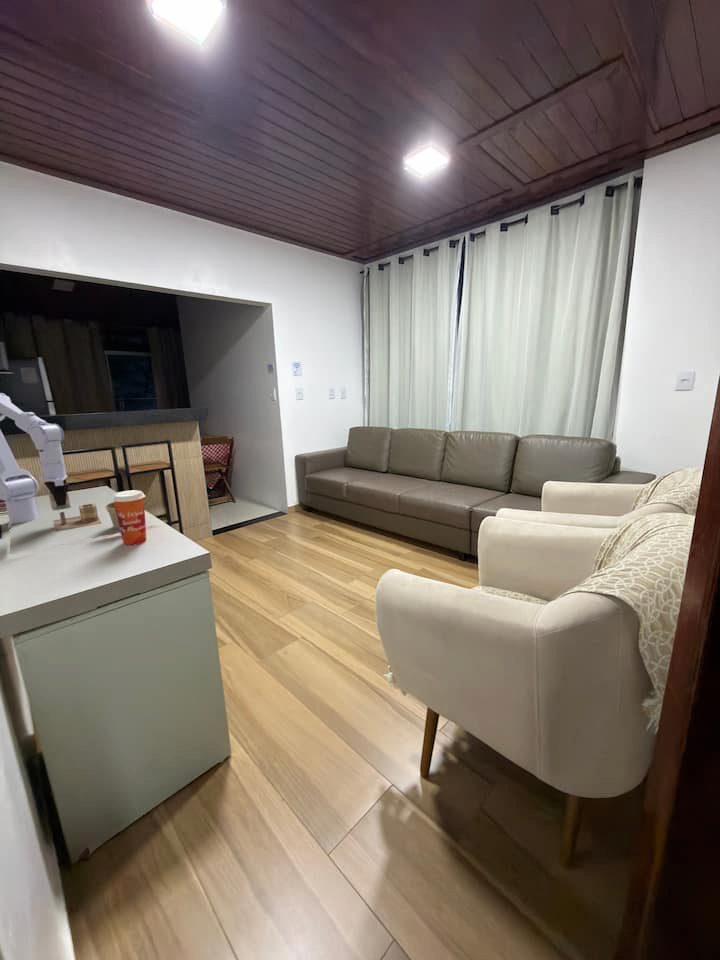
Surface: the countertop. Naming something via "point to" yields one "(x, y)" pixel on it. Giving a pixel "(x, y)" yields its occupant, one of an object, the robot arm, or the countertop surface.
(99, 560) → the countertop surface
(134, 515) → the coffee cup
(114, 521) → the flower pot
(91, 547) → the countertop surface
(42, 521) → the countertop surface
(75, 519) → the pin board
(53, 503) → the sleeve
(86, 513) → the seated sleeve
